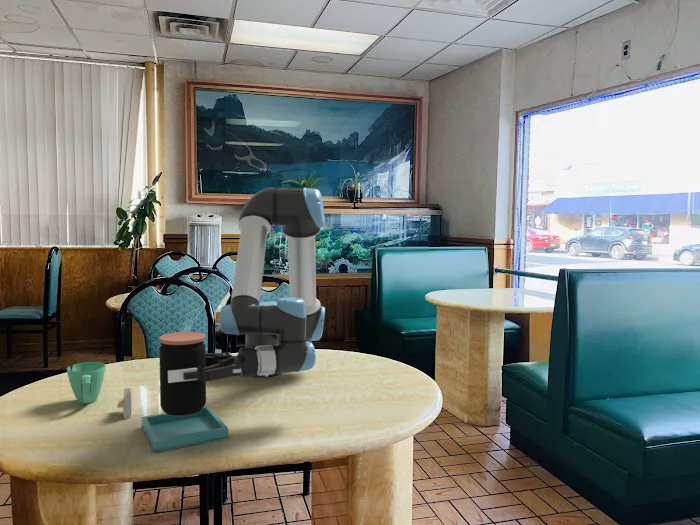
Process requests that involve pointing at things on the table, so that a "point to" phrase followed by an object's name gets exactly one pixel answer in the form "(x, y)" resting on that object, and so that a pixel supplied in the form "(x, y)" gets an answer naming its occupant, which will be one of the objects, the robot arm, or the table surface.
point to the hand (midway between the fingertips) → (165, 370)
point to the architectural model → (126, 402)
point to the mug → (86, 380)
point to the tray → (183, 429)
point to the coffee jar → (182, 354)
